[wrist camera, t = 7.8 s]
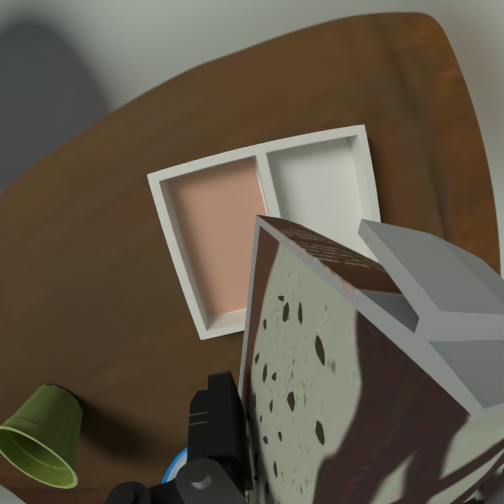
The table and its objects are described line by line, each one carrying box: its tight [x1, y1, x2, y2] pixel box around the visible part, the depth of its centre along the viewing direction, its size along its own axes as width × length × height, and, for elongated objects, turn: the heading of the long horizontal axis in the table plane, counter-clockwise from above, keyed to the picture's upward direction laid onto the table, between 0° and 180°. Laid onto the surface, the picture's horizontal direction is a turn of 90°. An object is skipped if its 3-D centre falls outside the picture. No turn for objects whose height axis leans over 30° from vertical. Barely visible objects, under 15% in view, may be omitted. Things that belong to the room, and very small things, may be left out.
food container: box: [238, 215, 504, 504], centre depth 8 cm, size 12×6×10 cm, turn 175°
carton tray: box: [147, 125, 381, 340], centre depth 28 cm, size 18×16×3 cm
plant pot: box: [0, 384, 83, 488], centre depth 29 cm, size 12×12×11 cm
